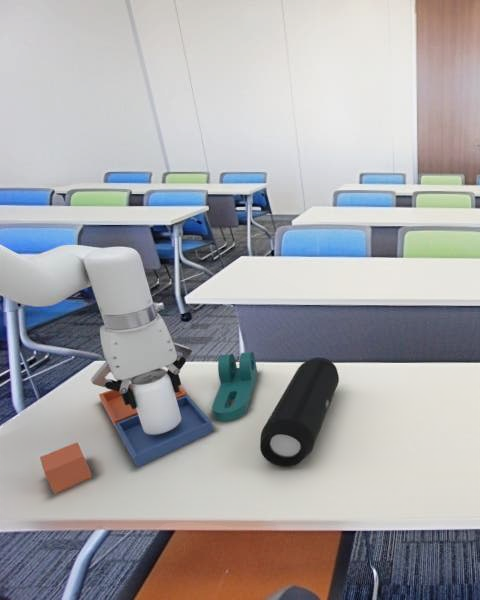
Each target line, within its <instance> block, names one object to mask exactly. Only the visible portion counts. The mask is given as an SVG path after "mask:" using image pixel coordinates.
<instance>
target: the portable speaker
mask: <svg viewBox="0 0 480 600" xmlns="http://www.w3.org/2000/svg"><path fill="white" fill-rule="evenodd" d="M339 377H340V376H339V372H338V367H337V366H336V365H335V364H334V363H333V362H332V361H331V360H329V359H328V358H325V357H313V358H310V359H308V360H306V361H304V362H303V363H302V364H300V366H299V367H298V368H297V370H296V371H295V373H294V375H293V376H292V378H291V379H290V382H288V383H289V384H288V385H287V387H286V388H285V390H284V392H283V393H282V395H281V397H280V399H279V401H278V402H277V403H276V405H275V407H274V409H273V411H272V413H270V416H269V418H268V419H267V421H266V423H265V424H264V426H263V428H262V430H261V432H260V440H259V441H260V442H259V451H260V453H261V455H262V456H263V458H264V459H265V460H266V461H267V462H268V463H270V464H273V465H274V466H278V467H282V468H283V467H284V468H288V467H289V468H290V467H294V466H296V465H298V464H301V462H303V461H304V460H305V459H306V458H307V457H308V456H309V455H310V454H311V453H312V452H313V449H314V446H315V443H316V441H317V439H318V436H319V433H320V431H321V429H322V426H323V423H324V420H325V418H326V415H327V412H328V410H329V407H330V405H331V402H332V400H333V397H334V395H335V392H336V390H337V387H338V385H339V382H340V378H339Z"/></svg>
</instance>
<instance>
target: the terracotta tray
mask: <svg viewBox="0 0 480 600" xmlns="http://www.w3.org/2000/svg"><path fill="white" fill-rule="evenodd" d="M165 371H166V373H167V372H168V371H167V370H165ZM130 385H131V382H130V383H129V388H130ZM181 386H182V385H180V386H179V390H180V392H176V393H175V396H176V399H179V398H181V397H184V396H186V395H188V394H187V392H186V391H185V390H184V389H183V388H182V387H181ZM174 392H175V391H174ZM98 397H99V398H100V402H101V404H102V406H103V407H104V409H105V411H106V413H107V415H108V416H109V419H110V420H111V422H112V424H113V426H114V428H115V429H116V431H117V428H116V425H115V423H118V422H120V421H123V420H126V419H128V418H131V417H133V416H136V415H138V412H137V409H132V407H131V406H130V404H129V405H125V403H124V401H123V398H122V395H121V393H120V392H118V391H114V390H110V389H109V390H108V391H104V392H102V393H99V394H98Z"/></svg>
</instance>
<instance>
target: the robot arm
mask: <svg viewBox="0 0 480 600" xmlns="http://www.w3.org/2000/svg"><path fill="white" fill-rule="evenodd" d="M90 287H91V288H92V291H93V295H94V297H95V301H96V304H97V307H98V309H99V313H100V315H101V318H102V321H103V325H101V326H100V328H99V337H100V343H101V349H102V352H103V353H102V354H103V356H104V360H105V361H104V363H103V364H102V365H101V366H100V367H99V369H98V370H97V371H96V372H95V373H94V375H92V377H91V379H90V382H91V384H92V385H94V386H97V387H102V388H106V389H107V390H109V391H110V390H114V391H118V392H120V393H121V395H122V398H123V401H124V403H125V405H129V404H130V406H131V407H132V409H136V407H137V405H136V402H135V399H134V396H133V393H132V391H131V389H130V388H129V384H130V383H131V381H130V380H131V378H132V377H135V376H138V375H141V374H144V373H147V372H150V371H153V370H156V369H159V368H162V369H163V368H166V371H168V372H167V374H168V375H169V376H170V378H171V382H172V385H173V389H174V391H175V393H176V392H180V390H179V386H182V382H181V378H180V373H181V369H182V368H183V367H184V366H185V364H186V362H187V360H188V359H189V357H190V355H192V352H193V350H192V349H191V348H190V347H189V346H186V345H183V344H180V343H178V342H174V341H173V339H172V336H171V334H170V332H169V329H168V327H167V325H166V323H165V321H164V319H163V317H162V316H161V314H159V312H160V311H162V310H165V305H164V302H162V301H161V302H155V301H153V297H152V294H151V289H150V286H149V282H148V278H147V275H146V271H145V268H144V265H143V260H142V257H141V255H140V253H139V252H138V251H137V250H136V249H135V248H133V247H129V246H108V247H96V246H90V245H89V246H88V245H82V244H64V245H59V246H55V247H54V248H52V249H49V250H46V251H43V252H41V253H38V254H36V255H33V256H31V257H25V256H24V255H22V254H19V253H18V252H16V251H13V250H11V249H9V247H6V246H4V245H3V244H1V243H0V296H1V297H3V298H4V299H7V300H10V301H13V302H15V303H17V304H21V305H24V306H28V307H37V308H45V307H51V306H55V305H58V304H59V303H61V302H63V301H64V300H67V299H68V298H69V297H71V296H73V295H75V294H76V293H78V292H80V291H82V290H85V289H87V288H90ZM177 352H178V353H179V354H177ZM110 373H111V374H112V376H113V378H114V379H115V380H114V379H111V378H107V376H108V375H109V374H110Z"/></svg>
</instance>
